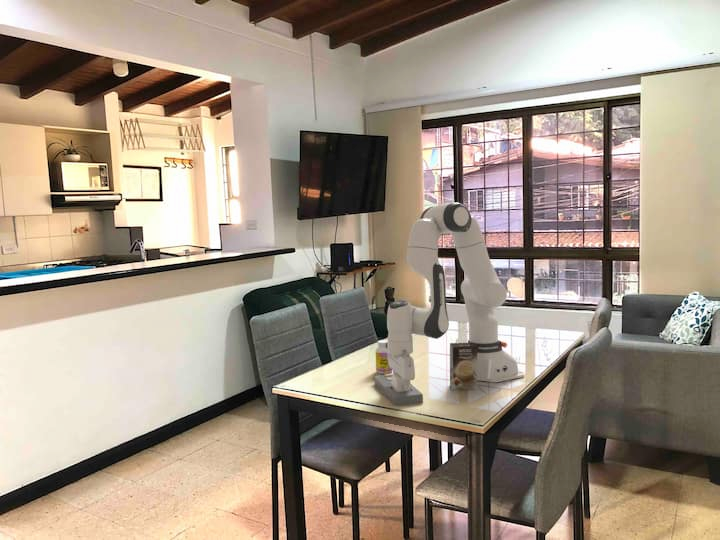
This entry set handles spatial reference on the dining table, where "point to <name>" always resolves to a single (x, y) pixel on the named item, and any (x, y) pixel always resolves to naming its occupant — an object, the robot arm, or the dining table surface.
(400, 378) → the block
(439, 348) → the dining table surface
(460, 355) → the coffee box
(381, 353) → the supplement bottle
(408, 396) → the power strip
